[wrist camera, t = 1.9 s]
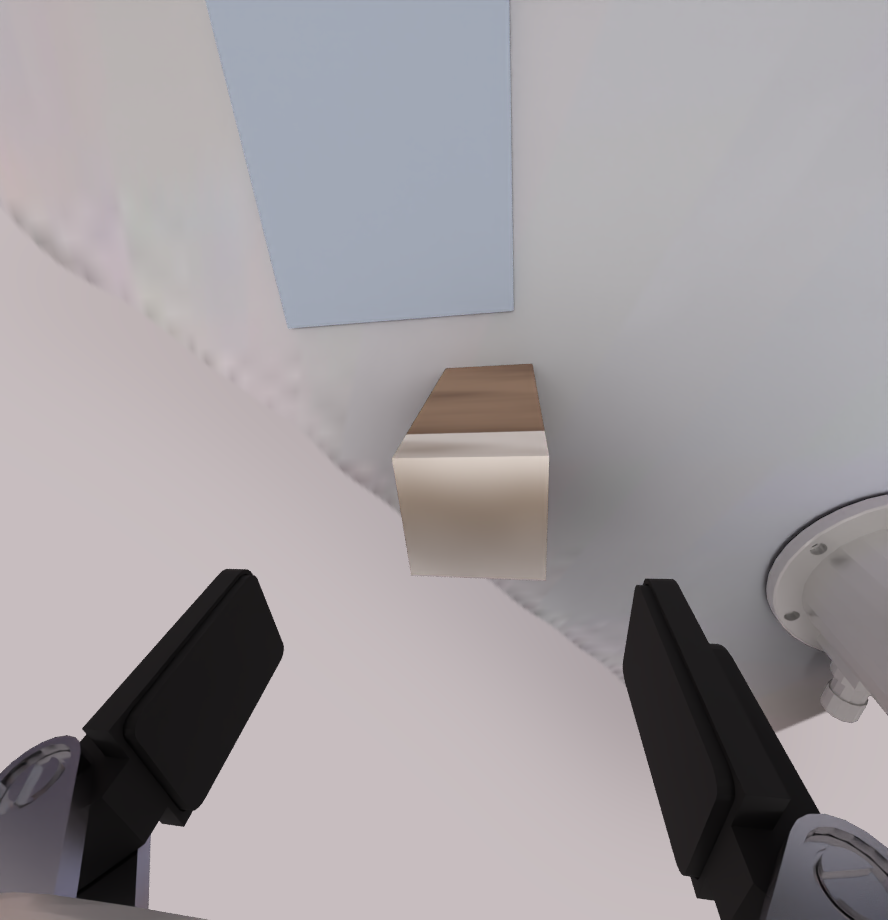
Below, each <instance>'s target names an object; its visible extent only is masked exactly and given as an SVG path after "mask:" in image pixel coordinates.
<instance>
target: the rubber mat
mask: <svg viewBox="0 0 888 920" xmlns="http://www.w3.org/2000/svg"><path fill="white" fill-rule="evenodd" d="M205 1H206V5H207V9H208V13H209V17H210V21H211V25H212V29H213V33H214V37H215V41H216V45H217V48H218V52H219V56H220V60H221V64H222V68H223V72H224V76H225V80H226V84H227V88H228V92H229V96H230V100H231V104H232V108H233V112H234V116H235V120H236V124H237V128H238V132H239V136H240V140H241V144H242V148H243V152H244V156H245V160H246V164H247V168H248V172H249V175H250V179H251V183H252V187H253V191H254V195H255V199H256V203H257V207H258V211H259V215H260V219H261V223H262V227H263V231H264V235H265V239H266V243H267V247H268V251H269V255H270V259H271V263H272V267H273V271H274V275H275V279H276V283H277V287H278V291H279V295H280V298H281V302H282V306H283V310H284V314H285V318H286V322H287V326H288V328H300V327H313V326H326V325H339V324H351V323H364V322H377V321H390V320H402V319H415V318H428V317H441V316H453V315H466V314H479V313H492V312H504V311H514V299H513V228H512V157H511V86H510V15H509V0H205Z"/></svg>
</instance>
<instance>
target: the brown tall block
mask: <svg viewBox="0 0 888 920" xmlns="http://www.w3.org/2000/svg"><path fill="white" fill-rule="evenodd" d="M392 462H393V468H394V474H395V480H396V486H397V492H398V498H399V504H400V510H401V516H402V522H403V528H404V534H405V540H406V546H407V552H408V558H409V564H410V570H411V575H412V576H437V577H439V576H440V577H464V578H490V579H517V580H543V581H546V556H547V519H548V481H549V452H548V447H547V441H546V436H545V430H544V425H543V420H542V414H541V409H540V403H539V398H538V392H537V387H536V381H535V376H534V371H533V365H532V364H518V365H500V366H482V367H464V368H446V369H445V371H444V372H443V374H442V376H441V377H440V379H439V381H438V382H437V384H436V386H435V387H434V389H433V391H432V392H431V394H430V396H429V397H428V399H427V401H426V402H425V404H424V406H423V407H422V409H421V411H420V412H419V414H418V416H417V417H416V419H415V421H414V422H413V424H412V426H411V427H410V429H409V431H408V432H407V434H406V436H405V437H404V439H403V441H402V442H401V444H400V446H399V447H398V449H397V451H396V452H395V454H394V456H393V457H392Z"/></svg>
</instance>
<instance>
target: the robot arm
mask: <svg viewBox="0 0 888 920" xmlns="http://www.w3.org/2000/svg"><path fill="white" fill-rule="evenodd" d="M766 591H767V601H768V603H769V605H770V608H771V610H772V612H773V614H774V615H775V616H776V618H777V619H778V621H779V622H780V623H781V625H782V626H783V628H785V629H786V630H787V631H788V632H789V633H790V634H791V635H792V636H793V637H794V638H796V639H798V640H799V641H801V642H803V643H804V644H806V645H808V646H811V647H813V648H816V649H819V650H821V651H825V652H826V654H827V655H828V656H829V658H830V659H831V660H832V662H831V664H830V670H831V672H832V674H833V676H834V678H833V679H832V680H830V681H829V682H828V684H827V686H826V688H825V690H824V692H823V694H822V696H821V698H820V700H821V705H822V706H823V708H824V709H825V710H826V711H827V712H828V713H829V714H831V715H832V716H833V717H835V718H837V719H839V720H841V721H844V722H849V723H853V722H856V721H858V719H859V717H860V715H861V714H862V712H863V710H864V709H865V707H866V705H867V702H868V697H869V696H872V697H873V698H874V699H875V700H876V701H877V703H878V704H879V705H880V706H881V707H882V709H883V710H884V711H885V712H886V714H887V715H888V494H887V495H883V496H879V497H874V498H870V499H866V500H863V501H860V502H857V503H855V504H852V505H849V506H846V507H843V508H841V509H839V510H837V511H835V512H833V513H831V514H829V515H827V516H825V517H823V518H821V519H819V520H818V521H816V522H815V523H813V524H812V525H810V526H809V527H807V528H806V529H804V530H803V531H802V532H801V533H799V534H798V535H797V536H796V537H795V538H794V539H793V540H792V541H791V542H790V543H788V544H787V545H786V547H785V548H784V549H783V551H782V552H781V553H780V554H779V556H778V557H777V558H776V560H775V562H774V564H773V566H772V568H771V570H770V572H769V576H768V581H767V586H766ZM283 651H284V646H283V642H282V640H281V637H280V635H279V632H278V630H277V627H276V625H275V622H274V620H273V617H272V614H271V612H270V609H269V607H268V605H267V602H266V599H265V597H264V594H263V592H262V589H261V587H260V584H259V582H258V579H257V578H256V576H254V575H253V574H252V573H251V571H249V570H245V569H244V570H243V569H226V570H223V571H222V572H221V573H220V574H219V575H218V576H217V577H216V578H215V579H214V580H213V582H212V583H211V584H210V585H209V586H208V587H207V589H205V591H204V592H203V593H202V594H201V595H200V596H199V597H198V599H197V600H196V601H195V602H194V603H193V604H192V605H191V607H189V609H188V610H187V611H186V612H185V613H184V614H183V615H182V616H181V618H180V619H179V620H178V621H177V622H176V623H175V625H174V626H173V627H172V628H171V629H170V630H169V631H168V632H167V634H166V635H165V636H164V637H163V638H162V639H161V640H160V641H159V643H158V644H157V645H156V646H155V647H154V648H153V649H152V650H151V652H150V653H149V654H148V655H147V656H146V657H145V659H143V660H142V662H141V663H140V664H139V665H138V666H137V667H136V668H135V670H134V671H133V672H132V673H131V674H130V675H129V676H128V677H127V679H126V680H125V681H124V682H123V683H122V684H121V685H120V687H119V688H118V689H117V690H116V691H115V692H114V693H113V694H112V695H111V697H110V698H109V699H108V700H107V701H106V702H105V703H104V705H103V706H102V707H101V708H100V709H99V710H98V711H97V712H96V714H95V715H94V716H93V717H92V718H91V719H90V720H89V721H88V723H87V724H86V725H85V726H84V727H83V728H82V729H83V730H84V732H85V733H86V736H85V737H84V738H83V739H82V740H81V741H80V742H79V741H78V740H77V738H76V737H72V736H68V735H66V736H60V737H54V738H52V739H49V740H47V741H44V742H42V743H40V744H38V745H36V746H35V747H33V748H31V749H29V750H28V751H26V752H25V753H24V754H22V755H21V756H20V757H18V758H17V759H16V760H14V761H13V762H12V763H11V764H10V765H9V766H7V767H6V768H5V769H4V770H3V771H2V772H1V773H0V920H206V919H201V918H195V917H189V916H183V915H178V914H172V913H166V912H160V911H155V910H149V909H148V905H149V872H150V871H149V870H150V841H151V833H152V831H153V830H154V828H155V826H156V825H157V823H158V821H160V822H161V823H162V824H168V825H176V826H183V827H184V826H185V824H186V822H187V820H188V819H189V817H190V815H191V813H192V811H193V810H196V809H197V808H198V807H199V806H200V805H201V804H202V803H203V801H204V799H205V798H206V796H207V794H208V792H209V790H210V789H211V787H212V785H213V783H214V781H215V779H216V777H217V776H218V774H219V772H220V770H221V768H222V767H223V765H224V763H225V761H226V759H227V758H228V756H229V754H230V752H231V750H232V748H233V747H234V745H235V743H236V741H237V739H238V737H239V735H240V734H241V732H242V730H243V728H244V726H245V725H246V723H247V721H248V719H249V717H250V716H251V714H252V712H253V710H254V708H255V706H256V705H257V703H258V701H259V699H260V697H261V695H262V694H263V692H264V690H265V688H266V686H267V684H268V683H269V681H270V679H271V677H272V675H273V673H274V672H275V670H276V668H277V666H278V664H279V662H280V661H281V658H282V656H283ZM623 674H624V680H625V683H626V687H627V691H628V694H629V697H630V701H631V705H632V708H633V712H634V715H635V719H636V722H637V726H638V729H639V733H640V736H641V740H642V744H643V747H644V751H645V754H646V758H647V761H648V765H649V768H650V772H651V775H652V779H653V783H654V786H655V790H656V793H657V797H658V800H659V804H660V807H661V811H662V814H663V818H664V822H665V825H666V828H667V832H668V835H669V839H670V843H671V846H672V850H673V853H674V857H675V860H676V863H677V866H678V868H679V871H680V872H681V874H682V875H684V876H690V877H691V880H692V884H693V887H694V890H695V894H696V897H697V898H700V899H707V900H714V901H715V903H716V906H717V909H718V912H719V915H720V919H721V920H888V848H887V847H886V846H884V845H883V844H882V843H880V842H879V841H878V840H876V839H875V838H874V837H873V836H871V835H870V834H869V833H867V832H866V831H864V830H862V829H860V828H859V827H857V826H855V825H853V824H851V823H849V822H848V821H846V820H843V819H840V818H837V817H834V816H830V815H827V814H820V812H819V811H818V809H817V807H816V805H815V803H814V802H813V800H812V798H811V796H810V795H809V793H808V791H807V789H806V787H805V786H804V784H803V782H802V780H801V779H800V777H799V775H798V773H797V771H796V770H795V768H794V766H793V764H792V763H791V761H790V759H789V757H788V756H787V754H786V752H785V750H784V748H783V747H782V745H781V743H780V741H779V739H778V738H777V736H776V734H775V732H774V731H773V729H772V727H771V725H770V724H769V722H768V720H767V718H766V716H765V715H764V713H763V711H762V709H761V708H760V706H759V704H758V702H757V700H756V699H755V697H754V695H753V693H752V692H751V690H750V688H749V686H748V685H747V683H746V681H745V679H744V677H743V676H742V674H741V672H740V670H739V669H738V667H737V665H736V663H735V662H734V660H733V658H732V656H731V655H730V654H729V652H728V651H727V649H725V648H724V647H723V646H722V645H719V644H709V643H708V641H707V639H706V637H705V635H704V633H703V631H702V629H701V627H700V625H699V624H698V622H697V620H696V618H695V616H694V614H693V612H692V610H691V608H690V606H689V605H688V603H687V601H686V599H685V597H684V595H683V593H682V591H681V589H680V587H679V585H678V584H677V582H676V581H675V580H673V579H645V580H644V583H643V585H636V587H635V591H634V597H633V604H632V610H631V616H630V622H629V628H628V635H627V641H626V647H625V653H624V659H623Z"/></svg>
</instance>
